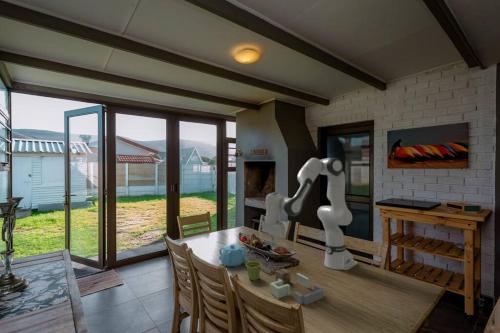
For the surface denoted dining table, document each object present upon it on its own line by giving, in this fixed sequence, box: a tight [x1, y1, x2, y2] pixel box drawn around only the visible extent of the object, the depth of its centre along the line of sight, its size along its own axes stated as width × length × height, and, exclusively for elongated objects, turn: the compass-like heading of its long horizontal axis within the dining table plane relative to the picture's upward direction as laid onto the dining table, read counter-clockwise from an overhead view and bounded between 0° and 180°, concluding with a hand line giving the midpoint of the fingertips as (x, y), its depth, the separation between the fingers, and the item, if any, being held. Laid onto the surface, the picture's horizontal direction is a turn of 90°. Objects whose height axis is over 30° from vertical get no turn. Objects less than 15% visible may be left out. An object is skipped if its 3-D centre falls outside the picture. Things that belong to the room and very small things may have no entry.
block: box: [275, 268, 291, 285], centre depth 144 cm, size 6×6×6 cm
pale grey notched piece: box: [269, 272, 311, 299], centre depth 135 cm, size 21×9×5 cm, turn 120°
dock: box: [293, 284, 324, 306], centre depth 125 cm, size 15×6×4 cm, turn 120°
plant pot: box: [245, 260, 262, 281], centre depth 150 cm, size 9×9×9 cm
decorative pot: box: [218, 243, 247, 268], centre depth 172 cm, size 16×16×14 cm
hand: (273, 241), depth 151 cm, fingers closed
